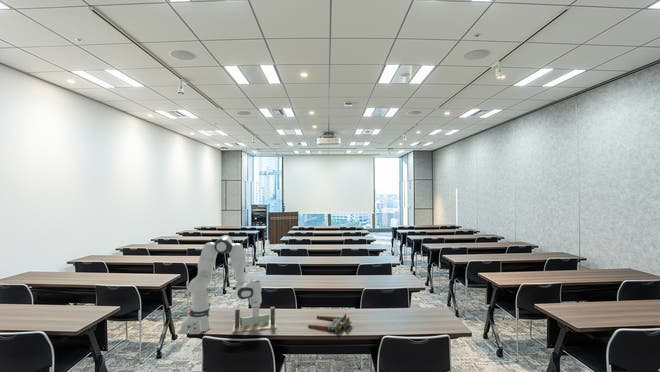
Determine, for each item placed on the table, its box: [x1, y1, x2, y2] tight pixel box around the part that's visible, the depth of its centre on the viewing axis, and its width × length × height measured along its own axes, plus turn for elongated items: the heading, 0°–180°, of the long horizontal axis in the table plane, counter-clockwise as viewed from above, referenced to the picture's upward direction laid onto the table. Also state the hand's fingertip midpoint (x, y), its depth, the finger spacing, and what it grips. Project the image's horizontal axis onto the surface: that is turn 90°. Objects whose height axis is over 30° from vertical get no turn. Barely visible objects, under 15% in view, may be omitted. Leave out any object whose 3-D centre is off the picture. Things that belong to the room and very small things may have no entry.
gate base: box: [232, 306, 277, 334], centre depth 234 cm, size 31×14×13 cm, turn 103°
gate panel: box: [240, 313, 270, 326], centre depth 235 cm, size 21×2×6 cm, turn 111°
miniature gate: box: [307, 313, 353, 335], centre depth 237 cm, size 27×6×30 cm
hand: (255, 319), depth 238 cm, fingers closed
